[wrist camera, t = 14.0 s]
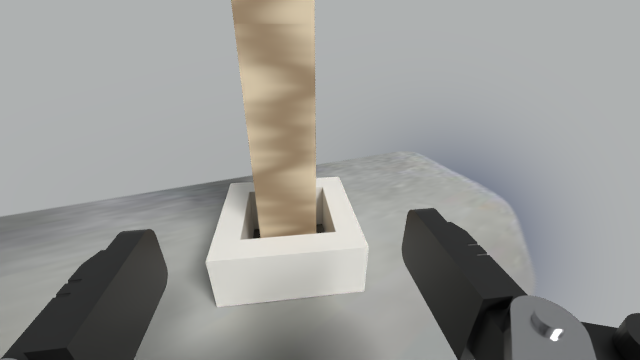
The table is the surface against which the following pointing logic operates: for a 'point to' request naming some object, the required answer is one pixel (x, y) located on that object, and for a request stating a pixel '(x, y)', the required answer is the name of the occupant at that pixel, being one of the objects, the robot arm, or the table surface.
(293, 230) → the wooden l-shaped block
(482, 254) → the robot arm
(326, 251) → the square well
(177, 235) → the table surface
